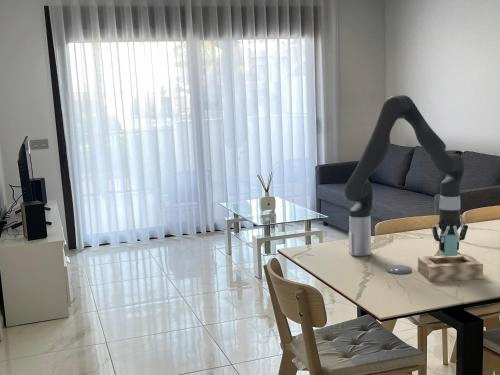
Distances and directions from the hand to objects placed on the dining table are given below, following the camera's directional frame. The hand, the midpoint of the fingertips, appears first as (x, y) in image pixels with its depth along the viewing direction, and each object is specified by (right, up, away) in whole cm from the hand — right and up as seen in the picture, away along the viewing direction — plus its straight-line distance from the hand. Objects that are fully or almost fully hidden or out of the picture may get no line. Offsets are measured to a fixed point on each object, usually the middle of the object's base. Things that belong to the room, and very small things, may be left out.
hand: (449, 251), depth 224 cm
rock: (+7, -6, +21) cm, 23 cm away
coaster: (-17, -9, +10) cm, 21 cm away
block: (0, -1, 0) cm, 1 cm away
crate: (+1, -9, +1) cm, 9 cm away
